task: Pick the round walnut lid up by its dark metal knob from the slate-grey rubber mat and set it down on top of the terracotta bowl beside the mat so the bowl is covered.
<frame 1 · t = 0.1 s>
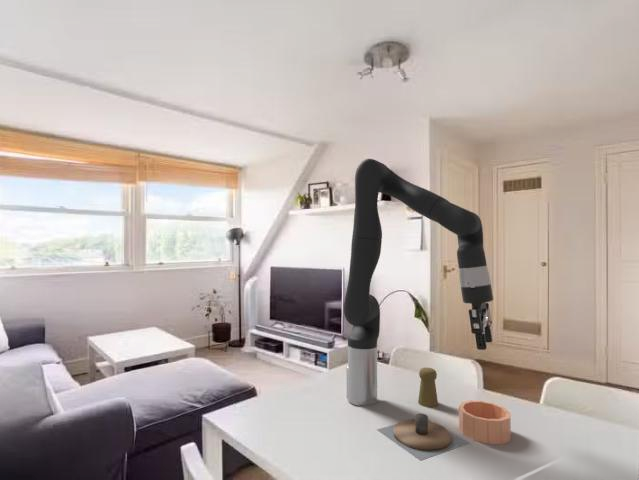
hand: (485, 345, 97), 22 cm above the table, tool pointing down, fingers open, 8 cm apart
cork: (428, 405, 113), on the table
bowl: (484, 433, 96), on the table
lid: (421, 436, 94), resting on mat
mat: (421, 437, 94), on the table
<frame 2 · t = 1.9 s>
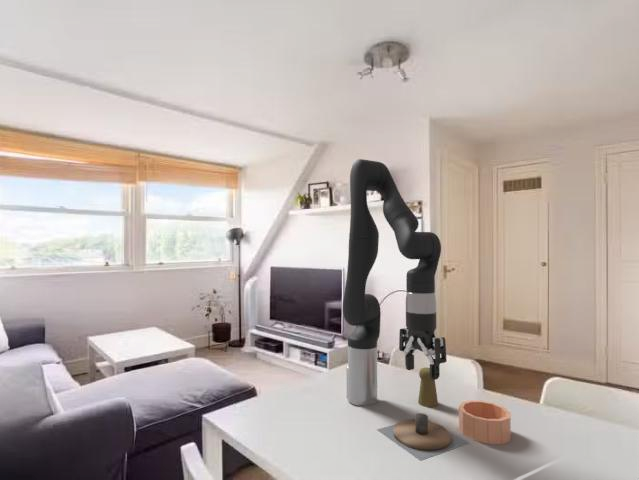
hand: (421, 374, 94), 16 cm above the table, tool pointing down, fingers open, 8 cm apart
nothing on the table moved.
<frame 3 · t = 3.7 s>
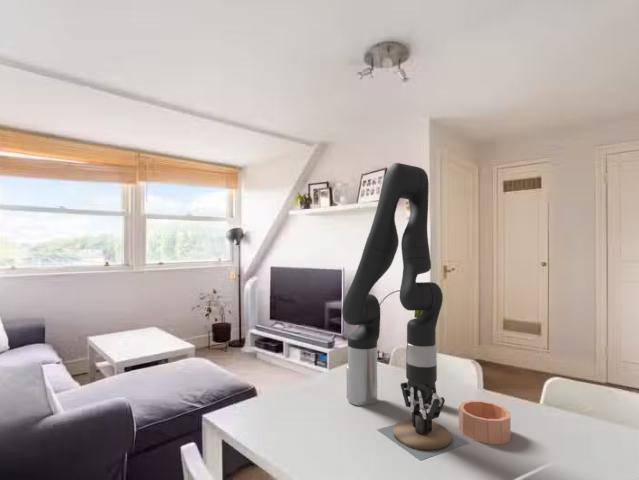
hand: (421, 429, 94), 2 cm above the table, tool pointing down, fingers closed on lid, 3 cm apart
lid: (421, 435, 94), point 1 cm above the table, touching gripper, mat
everything else where it was.
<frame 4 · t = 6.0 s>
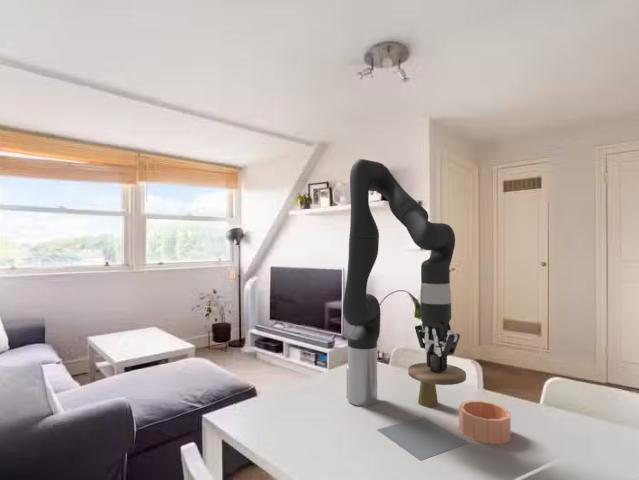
hand: (436, 368, 94), 17 cm above the table, tool pointing down, fingers closed on lid, 3 cm apart
lid: (436, 374, 94), point 16 cm above the table, touching gripper
everything else where it was.
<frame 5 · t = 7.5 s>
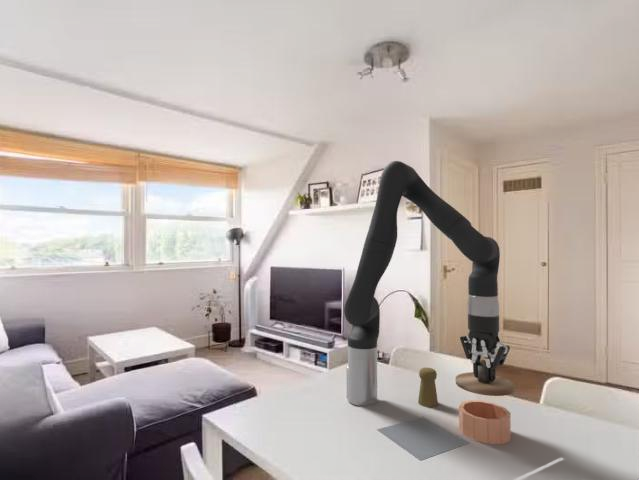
hand: (484, 379, 96), 14 cm above the table, tool pointing down, fingers closed on lid, 3 cm apart
lid: (484, 385, 96), point 12 cm above the table, touching gripper
everything else where it was.
when the fingers open (9 cm above the table, at t = 8.6 s): lid drops 1 cm, resting on bowl.
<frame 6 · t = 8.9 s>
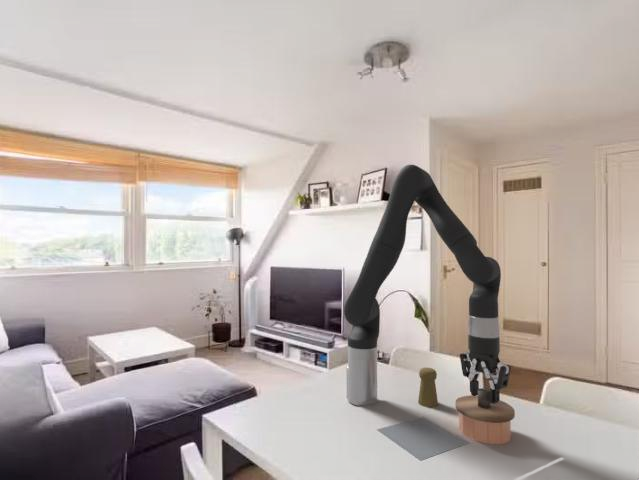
hand: (484, 398, 96), 9 cm above the table, tool pointing down, fingers open, 5 cm apart
bowl: (484, 433, 96), on the table, touching lid
lid: (484, 410, 96), point 6 cm above the table, touching bowl
everything else where it was.
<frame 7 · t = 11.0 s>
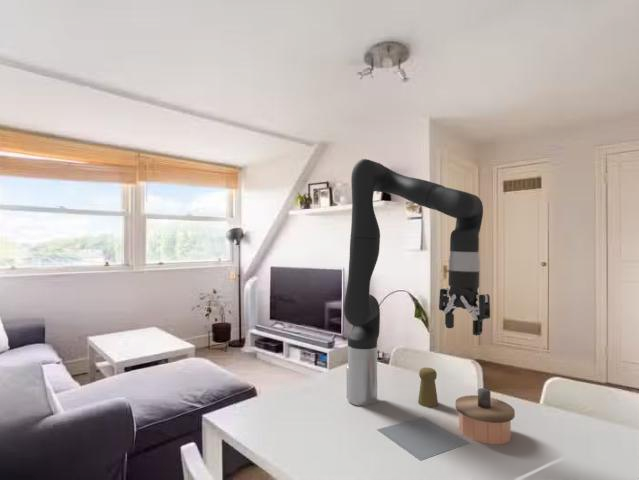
hand: (462, 331, 96), 26 cm above the table, tool pointing down, fingers open, 8 cm apart
nothing on the table moved.
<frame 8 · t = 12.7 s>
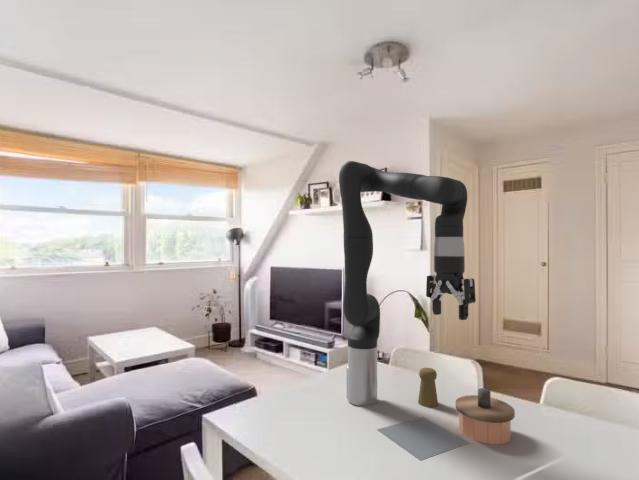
hand: (449, 316, 96), 30 cm above the table, tool pointing down, fingers open, 8 cm apart
nothing on the table moved.
at the end: lid 0.0 cm off-centre on the bowl, point 6.0 cm above the bowl's base; lid tilted 0°; the gripper is holding nothing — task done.
